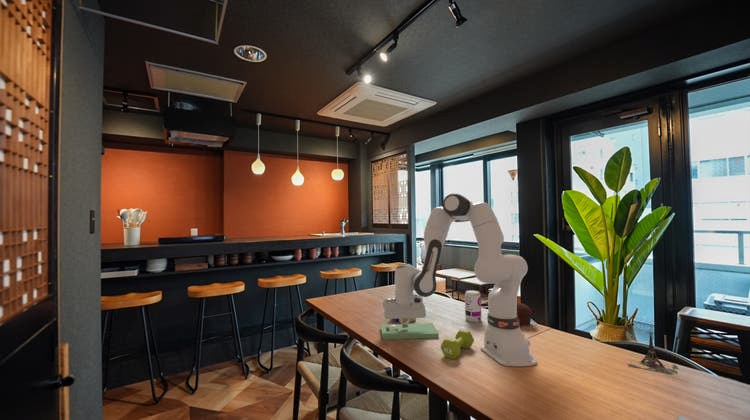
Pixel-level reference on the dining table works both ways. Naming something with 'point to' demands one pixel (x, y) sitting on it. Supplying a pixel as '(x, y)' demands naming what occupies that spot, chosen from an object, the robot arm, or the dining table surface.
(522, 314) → the muffin
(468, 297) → the supplement can
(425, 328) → the deck
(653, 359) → the eiffel tower figurine
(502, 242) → the robot arm
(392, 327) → the ball
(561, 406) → the dining table surface
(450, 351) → the dumbbell
